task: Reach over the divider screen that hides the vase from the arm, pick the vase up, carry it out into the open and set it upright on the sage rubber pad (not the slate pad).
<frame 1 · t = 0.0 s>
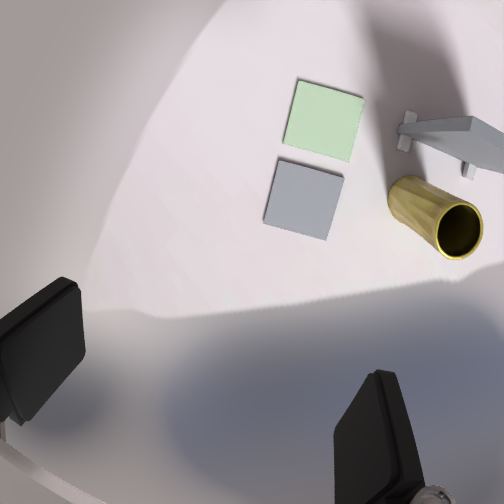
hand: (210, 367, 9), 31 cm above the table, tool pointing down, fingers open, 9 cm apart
pad slate: (303, 200, 38), on the table
screen: (439, 145, 33), on the table
pad sage: (324, 121, 34), on the table
vase: (409, 199, 36), on the table
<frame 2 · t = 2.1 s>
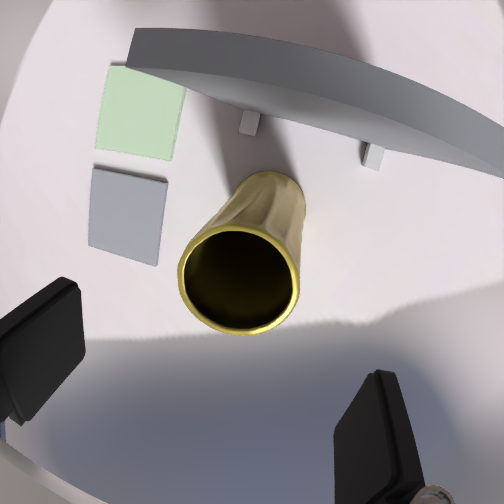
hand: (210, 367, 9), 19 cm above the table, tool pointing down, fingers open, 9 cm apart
pad slate: (124, 215, 28), on the table
screen: (316, 119, 23), on the table
pad sage: (139, 110, 25), on the table
vase: (269, 206, 26), on the table
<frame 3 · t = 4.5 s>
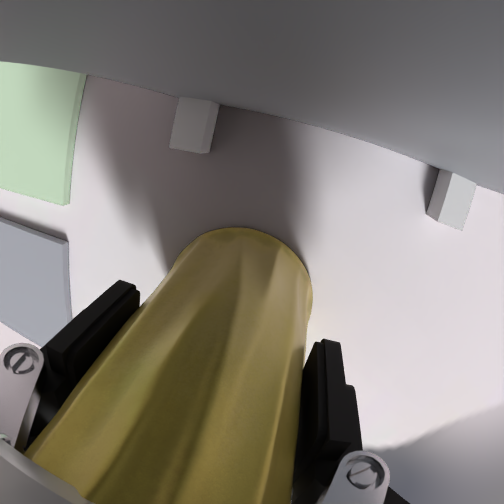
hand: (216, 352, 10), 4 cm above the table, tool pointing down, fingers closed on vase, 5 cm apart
pad slate: (24, 285, 16), on the table
screen: (339, 116, 10), on the table
pad sage: (25, 117, 12), on the table
vase: (240, 292, 14), on the table, touching gripper
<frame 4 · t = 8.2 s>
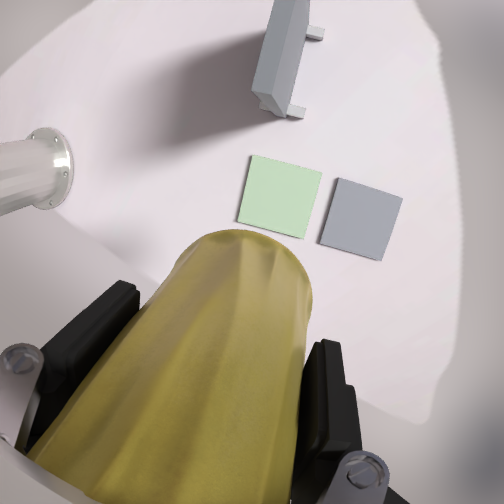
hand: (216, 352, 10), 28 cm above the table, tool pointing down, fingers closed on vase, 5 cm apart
pad slate: (361, 220, 36), on the table
screen: (292, 68, 31), on the table
pad sage: (279, 196, 36), on the table
vase: (240, 294, 14), point 24 cm above the table, touching gripper
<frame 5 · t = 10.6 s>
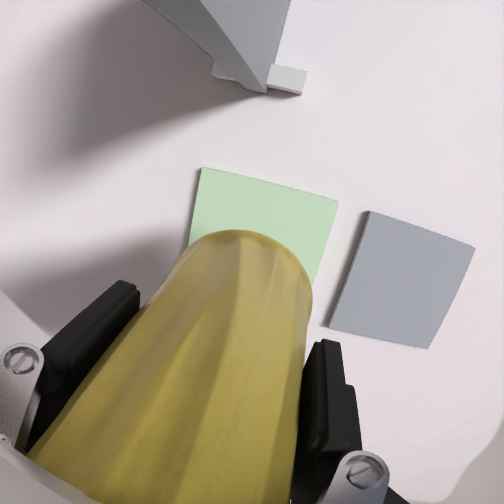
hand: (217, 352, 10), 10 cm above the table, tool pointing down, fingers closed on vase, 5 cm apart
pad slate: (403, 286, 19), on the table
screen: (279, 3, 14), on the table
pad sage: (254, 246, 19), on the table
vase: (240, 294, 14), point 6 cm above the table, touching gripper
when the fingers open (6 cm above the table, at t = 12.4 s): vase drops 1 cm, resting on pad sage.
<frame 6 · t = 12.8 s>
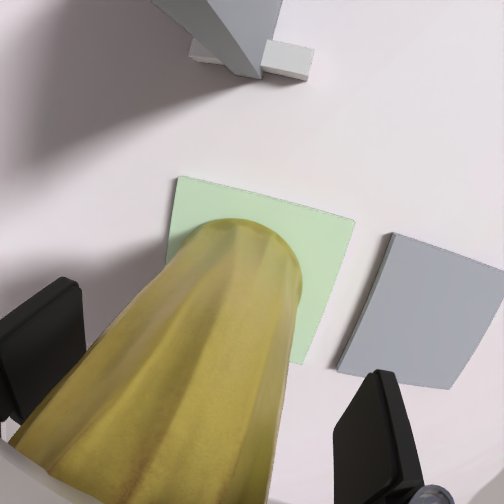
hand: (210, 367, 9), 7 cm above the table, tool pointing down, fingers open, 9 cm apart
pad slate: (428, 322, 15), on the table
pad sage: (247, 276, 15), on the table
vase: (237, 278, 15), resting on pad sage
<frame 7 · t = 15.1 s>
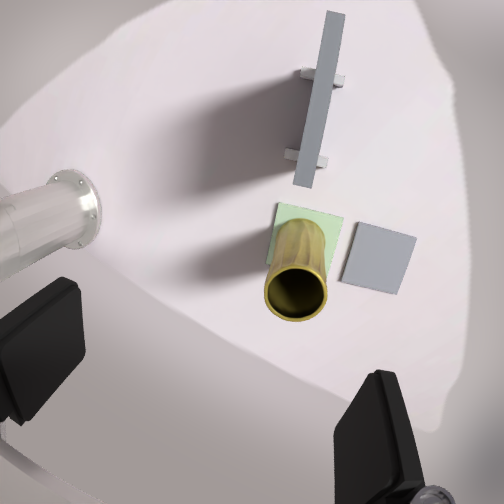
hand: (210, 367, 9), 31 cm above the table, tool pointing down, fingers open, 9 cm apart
pad slate: (378, 259, 38), on the table
screen: (314, 116, 34), on the table
pad sage: (303, 240, 39), on the table
vase: (300, 241, 39), resting on pad sage
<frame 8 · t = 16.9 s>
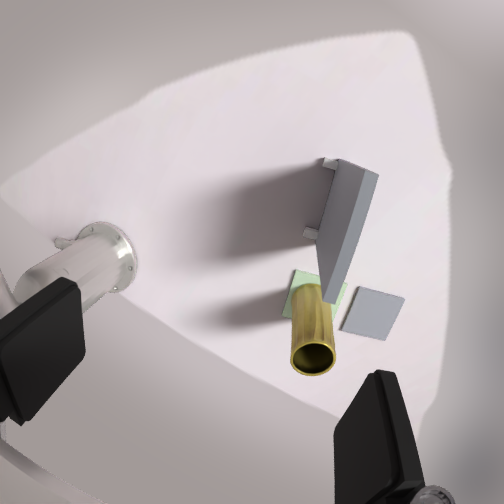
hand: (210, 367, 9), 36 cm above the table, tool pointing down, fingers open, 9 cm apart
pad slate: (372, 314, 47), on the table
screen: (331, 201, 42), on the table
pad sage: (313, 299, 48), on the table
vase: (311, 300, 47), resting on pad sage
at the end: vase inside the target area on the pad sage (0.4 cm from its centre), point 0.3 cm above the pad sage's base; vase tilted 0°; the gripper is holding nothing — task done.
